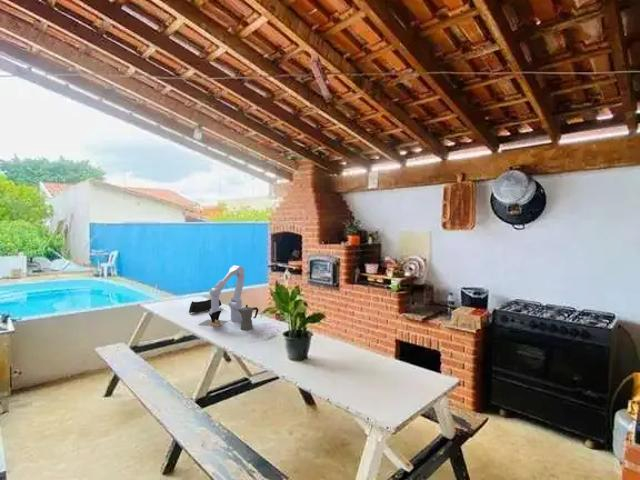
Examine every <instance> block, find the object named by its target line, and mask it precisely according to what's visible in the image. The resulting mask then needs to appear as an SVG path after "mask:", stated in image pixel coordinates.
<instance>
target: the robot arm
mask: <svg viewBox="0 0 640 480" xmlns="http://www.w3.org/2000/svg"><path fill="white" fill-rule="evenodd" d="M233 276H236V278H237V279H236V283H235V289H234V293H233V297H232V298H231V299H230V301H229V303H228V306H229V309H230V319H229V320H228V322H237V323H241V322H242V317H241V314H240V312H239V311H238V309H241V308H243V304H242V303H243V302H242V299H241V296H242V291H243V287H244V282H245V278H246V277H245V276H246V275H245V268H244V267H243V266H241V265H236V264H234V265H232V266H231V267H230V268H229V271H228V272H227V274H226V275H225V276H224V277H223V279H220V280H219V281H218V282H217V283H216V284H215V286H214V287H212V288H211V289H210V291H209V294H210V299H211V309H210V310H209V312H208V315H209V317H210V320H212V322H214V323H215V320H219V318H220V315H221V313H222V310H221V309H222V308H221V306H219V300H220V295H221V292H222V290H223V289H224V288H225V287H226V285H227V282H228V281H229V280H230V279H231V278H232V277H233Z"/></svg>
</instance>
